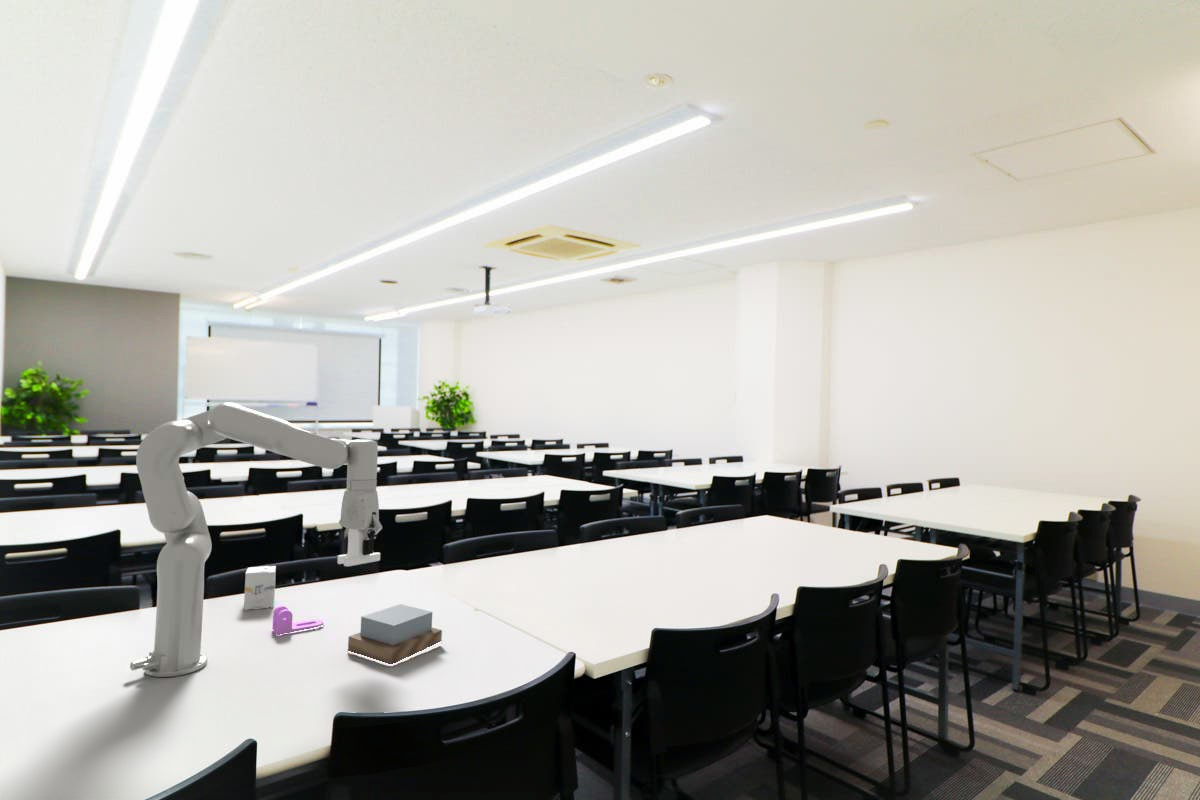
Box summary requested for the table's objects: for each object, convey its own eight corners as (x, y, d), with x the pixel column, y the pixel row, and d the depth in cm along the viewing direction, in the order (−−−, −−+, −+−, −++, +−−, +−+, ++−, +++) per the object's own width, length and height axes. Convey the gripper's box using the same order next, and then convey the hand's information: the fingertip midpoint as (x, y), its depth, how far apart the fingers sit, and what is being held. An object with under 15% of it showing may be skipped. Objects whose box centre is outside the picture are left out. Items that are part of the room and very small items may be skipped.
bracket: (277, 636, 178) (278, 611, 178) (272, 631, 182) (273, 606, 183) (325, 628, 187) (326, 604, 187) (319, 623, 191) (321, 599, 191)
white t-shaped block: (336, 563, 169) (337, 525, 169) (370, 557, 177) (371, 520, 177) (347, 566, 166) (348, 528, 166) (380, 560, 174) (382, 523, 174)
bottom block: (390, 669, 160) (391, 649, 161) (347, 655, 168) (348, 636, 168) (441, 648, 176) (441, 630, 176) (399, 636, 184) (400, 618, 184)
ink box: (245, 602, 206) (247, 566, 206) (274, 600, 210) (276, 564, 210) (242, 610, 198) (245, 573, 199) (273, 608, 202) (275, 571, 202)
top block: (393, 645, 164) (394, 625, 164) (360, 635, 169) (361, 616, 169) (431, 630, 176) (432, 612, 176) (399, 621, 182) (400, 604, 182)
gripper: (328, 484, 172) (325, 551, 172) (373, 489, 164) (371, 559, 164) (350, 481, 179) (348, 546, 179) (395, 486, 171) (393, 554, 171)
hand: (359, 552), depth 171 cm, fingers closed on white t-shaped block, 5 cm apart
